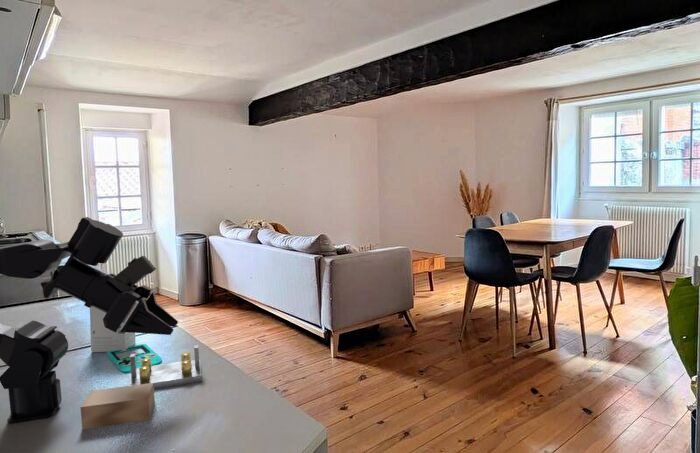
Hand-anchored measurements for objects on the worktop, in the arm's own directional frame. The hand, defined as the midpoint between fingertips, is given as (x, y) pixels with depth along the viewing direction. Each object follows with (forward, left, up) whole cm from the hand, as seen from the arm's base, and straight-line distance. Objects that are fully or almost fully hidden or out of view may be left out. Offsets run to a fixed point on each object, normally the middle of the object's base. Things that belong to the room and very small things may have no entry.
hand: (174, 328), depth 82 cm
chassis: (-2, +10, -13) cm, 16 cm away
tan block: (-9, -3, -13) cm, 16 cm away
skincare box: (-14, +33, -13) cm, 38 cm away
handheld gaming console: (-9, +24, -14) cm, 29 cm away
